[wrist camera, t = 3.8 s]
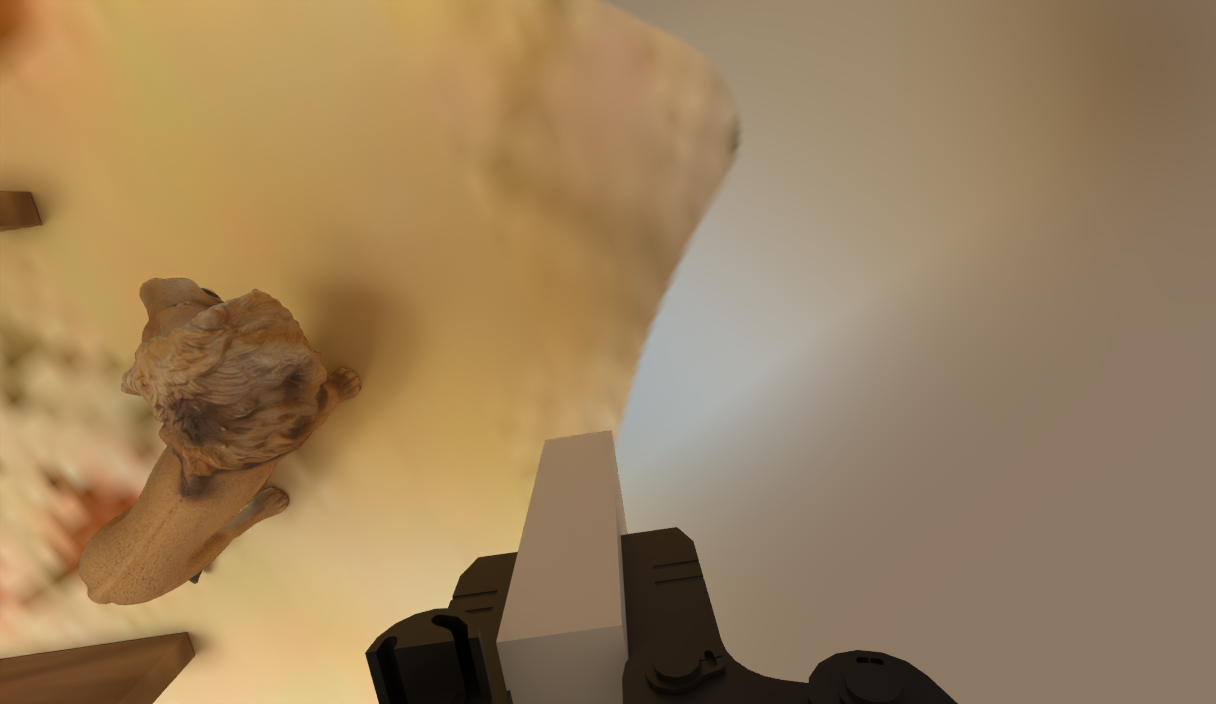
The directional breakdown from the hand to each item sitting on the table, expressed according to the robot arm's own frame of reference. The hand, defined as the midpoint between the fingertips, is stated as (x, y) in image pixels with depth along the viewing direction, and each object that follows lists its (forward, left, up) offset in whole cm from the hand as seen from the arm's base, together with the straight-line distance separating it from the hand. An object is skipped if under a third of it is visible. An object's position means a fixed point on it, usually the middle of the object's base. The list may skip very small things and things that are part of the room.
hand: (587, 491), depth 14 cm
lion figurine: (0, -13, -11) cm, 17 cm away
